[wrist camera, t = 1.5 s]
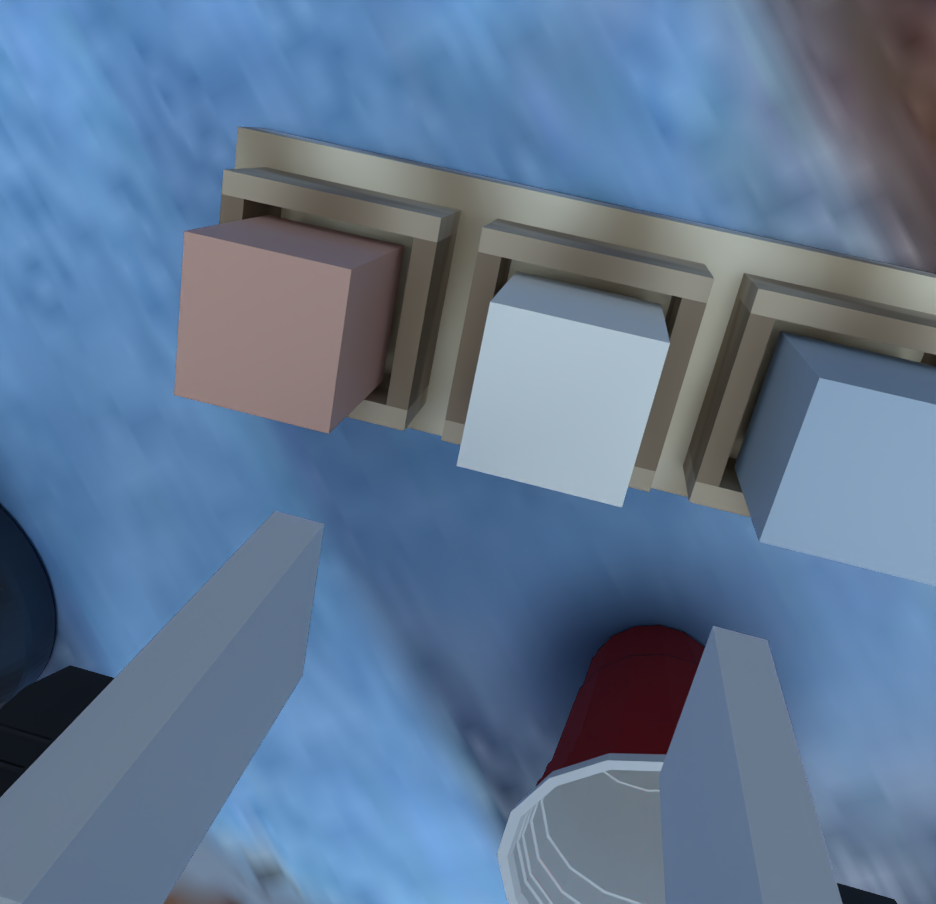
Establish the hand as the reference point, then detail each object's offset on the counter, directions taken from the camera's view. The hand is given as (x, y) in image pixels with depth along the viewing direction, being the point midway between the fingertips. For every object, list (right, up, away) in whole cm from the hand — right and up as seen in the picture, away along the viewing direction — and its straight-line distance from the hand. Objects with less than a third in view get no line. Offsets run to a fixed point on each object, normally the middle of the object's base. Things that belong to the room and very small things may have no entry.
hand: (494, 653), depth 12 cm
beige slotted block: (+4, +8, +21) cm, 23 cm away
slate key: (+12, +4, +16) cm, 20 cm away
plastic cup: (+8, -7, +26) cm, 28 cm away
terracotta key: (-5, +8, +18) cm, 20 cm away
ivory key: (+3, +6, +17) cm, 18 cm away
